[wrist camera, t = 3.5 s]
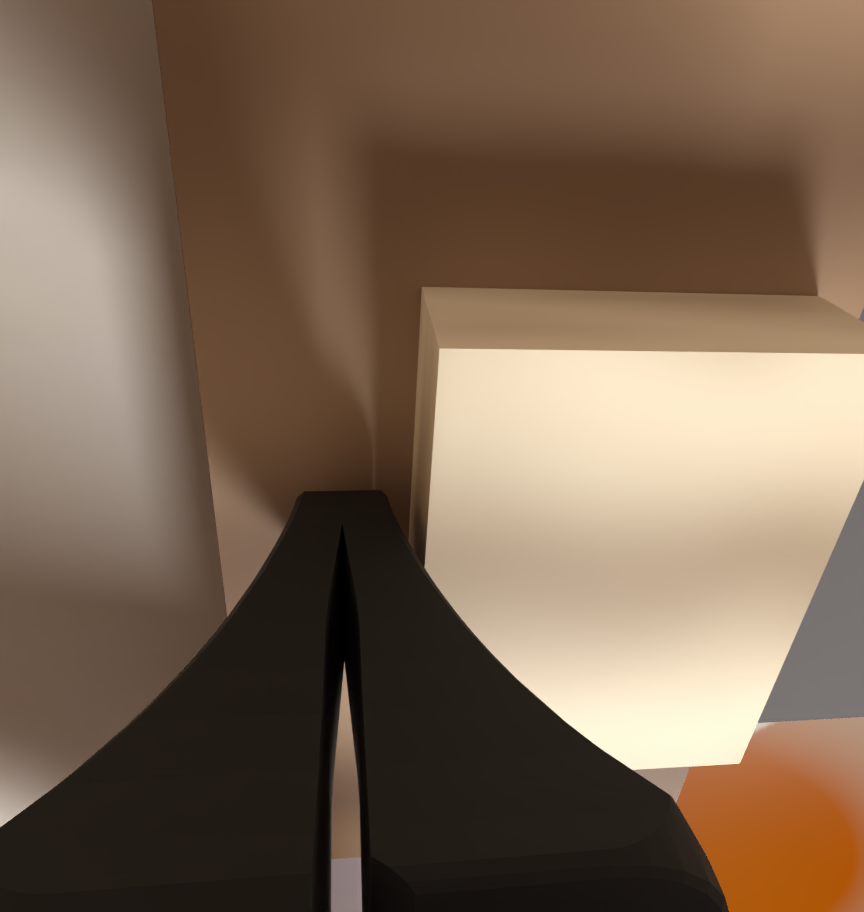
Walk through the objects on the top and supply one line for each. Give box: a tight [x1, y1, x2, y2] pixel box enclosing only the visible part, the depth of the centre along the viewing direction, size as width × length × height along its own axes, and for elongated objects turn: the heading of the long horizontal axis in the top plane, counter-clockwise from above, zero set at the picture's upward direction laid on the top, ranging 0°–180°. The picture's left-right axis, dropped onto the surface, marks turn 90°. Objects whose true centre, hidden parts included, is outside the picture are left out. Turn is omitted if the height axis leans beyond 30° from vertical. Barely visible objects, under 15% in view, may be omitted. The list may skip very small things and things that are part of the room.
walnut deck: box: [152, 0, 864, 859], centre depth 14 cm, size 18×10×4 cm, turn 177°
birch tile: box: [408, 287, 864, 770], centre depth 12 cm, size 8×6×2 cm
